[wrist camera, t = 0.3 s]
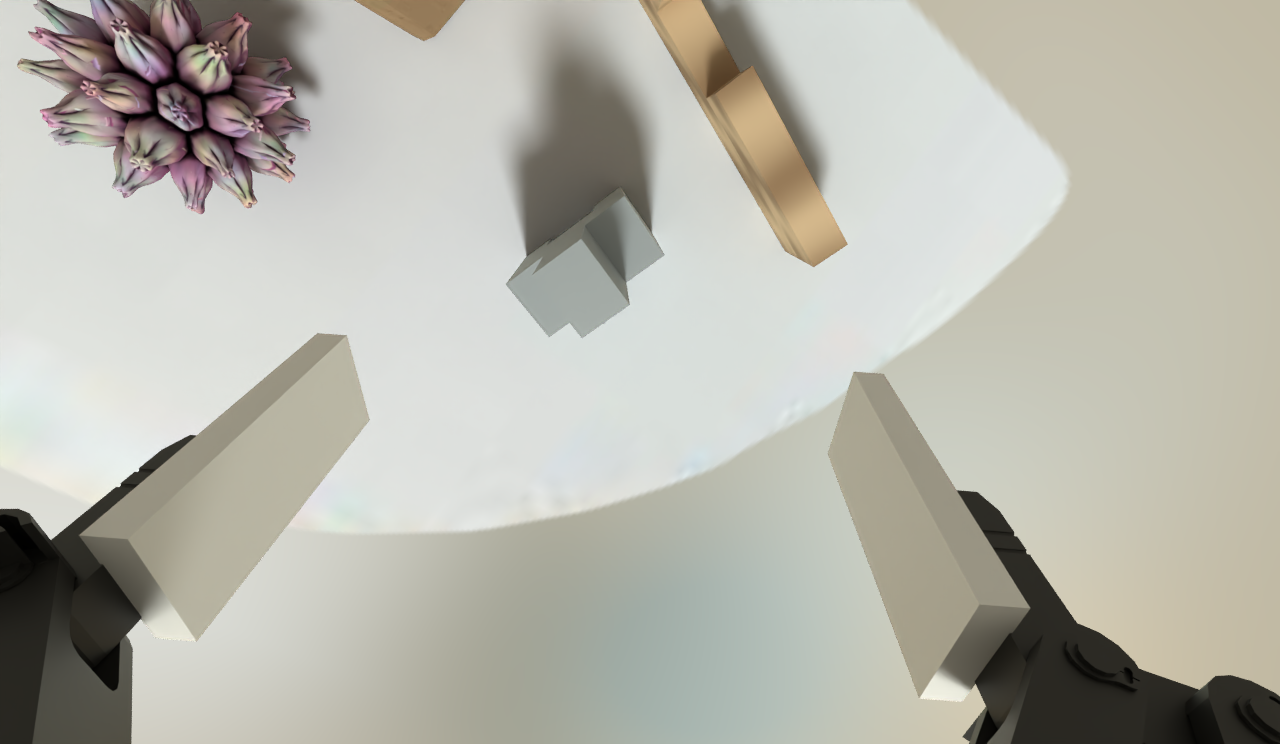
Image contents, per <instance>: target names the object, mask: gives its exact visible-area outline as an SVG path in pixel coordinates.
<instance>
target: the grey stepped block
mask: <svg viewBox="0 0 1280 744" xmlns="http://www.w3.org/2000/svg"><path fill="white" fill-rule="evenodd" d="M663 256H664V253H663V251H662V250H661V248H660V246H659V245H658V243H657V241H656V239H655V238H654V236H653V234H652V233H651V231H650V230H649V228H648V227H647V225H646V224H645V222H644V221H643V219H642V218H641V216H640V215H639V213H638V212H637V210H636V209H635V207H634V206H633V205H632V203H631V202H630V200H629V199H628V197H627V196H626V194H625V193H624V191H623V190H622V188H621V187H619V188H617V189H616V190H615V191H613V192H612V193H611V194H609V195H608V196H607V197H605V198H604V199H603V200H601V201H600V202H599V203H597V204H596V205H595V207H594V210H593V211H592V212H591V213H589V214H588V215H587V216H585V217H584V218H583V219H581V220H580V221H579V222H577V223H576V224H575V225H573V226H572V227H571V228H569V229H568V230H567V231H565V232H564V233H563V234H561V235H560V236H559V237H557V238H556V239H555V240H553V241H552V240H551V239H549V240H548V241H547V242H545V243H544V244H543V245H541V246H540V247H539V248H537V249H536V250H535V251H533V252H532V253H531V254H529V255H528V256H527V257H526V258H525V259H524V261H523V262H522V263H521V265H520V266H519V267H518V269H517V270H516V271H515V273H514V274H513V275H512V277H511V278H510V279H509V281H508V282H507V283H506V285H507V287H508V288H509V289H510V290H511V291H512V293H513V294H514V295H515V296H516V297H517V299H518V300H519V301H520V302H521V304H522V305H523V306H524V307H525V308H526V310H527V311H528V312H529V313H530V315H531V316H532V317H533V318H534V319H535V321H536V322H537V323H538V324H539V325H540V327H541V328H542V329H543V330H544V332H545V333H546V334H547V335H548V336H549V337H550V336H551V335H553V334H554V333H556V332H557V331H558V330H560V329H561V328H563V327H564V326H566V325H567V324H568V323H570V324H571V325H572V326H573V327H574V329H575V330H576V331H577V333H578V334H579V335H580V336H581V338H583V337H584V336H586V335H587V334H589V333H590V332H592V331H593V330H594V329H596V328H597V327H599V326H600V325H602V324H603V323H604V322H606V321H607V320H609V319H610V318H612V317H613V316H614V315H616V314H617V313H619V312H620V311H622V310H623V309H624V308H626V307H627V306H629V305H630V304H629V298H628V291H627V285H626V282H627V281H629V280H630V279H632V278H633V277H634V276H636V275H637V274H639V273H640V272H641V271H643V270H644V269H646V268H647V267H649V266H650V265H651V264H653V263H654V262H656V261H657V260H658V259H660V258H661V257H663Z"/></svg>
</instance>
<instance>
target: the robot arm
mask: <svg viewBox="0 0 1280 744" xmlns="http://www.w3.org/2000/svg"><path fill="white" fill-rule="evenodd" d="M369 420H370V419H369V416H368V412H367V408H366V405H365V401H364V397H363V394H362V390H361V386H360V383H359V379H358V375H357V371H356V368H355V364H354V360H353V357H352V353H351V349H350V346H349V342H348V338H347V335H333V334H319V333H317V334H316V335H315V336H314V337H313V338H312V339H310V340H309V341H308V342H307V343H306V344H304V345H303V346H302V347H301V348H300V349H299V350H297V351H296V352H295V353H294V354H293V355H291V356H290V357H289V358H288V359H287V360H286V361H284V362H283V363H282V364H281V365H280V366H278V367H277V368H276V369H275V370H274V371H273V372H271V373H270V374H269V375H268V376H267V377H265V378H264V379H263V380H262V381H261V382H260V383H258V384H257V385H256V386H255V387H254V388H252V389H251V390H250V391H249V392H248V393H247V394H245V395H244V396H243V397H242V398H241V399H239V400H238V401H237V402H236V403H235V404H234V405H232V406H231V407H230V408H229V409H228V410H226V411H225V412H224V413H223V414H222V415H221V416H219V417H218V418H217V419H216V420H215V421H213V422H212V423H211V424H210V425H209V426H208V427H206V428H205V429H204V430H203V431H202V432H200V433H199V434H198V435H197V436H196V435H189V436H187V437H186V438H184V439H182V440H180V441H178V442H176V443H174V444H172V445H170V446H168V447H166V448H164V449H163V450H161V451H160V452H158V453H157V454H156V455H155V456H154V457H152V458H151V459H150V460H149V461H147V462H146V463H145V464H144V465H143V466H141V467H140V468H139V472H134V473H133V474H132V475H130V476H129V477H128V478H127V479H125V480H124V481H123V482H122V483H121V486H120V487H116V488H114V489H113V490H112V491H111V492H109V493H108V494H107V495H106V496H105V497H103V498H102V499H101V500H100V501H98V502H97V503H96V504H95V505H94V506H92V507H91V508H90V509H89V510H88V511H86V512H85V513H84V514H83V515H81V516H80V517H79V518H78V519H76V520H75V521H74V522H73V523H72V524H70V525H69V526H68V527H67V528H65V529H64V530H63V531H62V532H60V533H59V534H58V535H57V536H56V537H54V538H53V539H52V540H50V539H49V538H48V536H47V535H46V534H45V532H44V531H43V530H42V529H41V527H40V526H39V525H38V524H37V523H36V521H35V520H34V519H33V517H32V516H31V515H30V514H29V513H27V512H25V511H22V510H20V509H0V744H131V726H132V725H131V723H132V652H133V651H132V650H133V649H132V646H131V643H130V640H129V639H128V638H127V636H126V634H127V633H128V632H129V631H130V630H131V629H132V628H133V627H134V625H135V624H136V623H137V622H138V621H139V620H140V619H141V620H142V621H143V622H144V624H145V625H146V626H147V628H148V629H149V630H150V632H151V633H152V634H153V636H154V637H155V638H160V639H172V640H185V641H197V640H198V639H199V638H200V637H201V635H202V634H203V633H204V631H205V630H206V629H207V628H208V626H209V625H210V624H211V622H212V621H213V620H214V619H215V617H216V616H217V615H218V614H219V612H220V611H221V610H222V608H223V607H224V606H225V604H226V603H227V602H228V601H229V599H230V598H231V597H232V596H233V594H234V593H235V592H236V590H237V589H238V588H239V587H240V585H241V584H242V583H243V582H244V580H245V579H246V578H247V576H248V575H249V574H250V572H251V571H252V570H253V569H254V567H255V566H256V565H257V564H258V562H259V561H260V560H261V558H262V557H263V556H264V555H265V553H266V552H267V551H268V550H269V548H270V547H271V546H272V544H273V543H274V542H275V541H276V539H277V538H278V537H279V535H280V534H281V533H282V532H283V530H284V529H285V528H286V526H287V525H288V524H289V523H290V521H291V520H292V519H293V518H294V516H295V515H296V514H297V512H298V511H299V510H300V509H301V507H302V506H303V505H304V503H305V502H306V501H307V500H308V498H309V497H310V496H311V494H312V493H313V492H314V491H315V489H316V488H317V487H318V486H319V484H320V483H321V482H322V480H323V479H324V478H325V477H326V475H327V474H328V473H329V471H330V470H331V469H332V468H333V466H334V465H335V464H336V462H337V461H338V460H339V459H340V457H341V456H342V455H343V454H344V452H345V451H346V450H347V448H348V447H349V446H350V445H351V443H352V442H353V441H354V439H355V438H356V437H357V436H358V434H359V433H360V432H361V430H362V429H363V428H364V427H365V425H366V424H367V423H368V421H369ZM828 456H829V458H830V461H831V464H832V466H833V469H834V472H835V474H836V477H837V480H838V482H839V485H840V488H841V490H842V493H843V496H844V499H845V501H846V504H847V506H848V509H849V512H850V514H851V517H852V520H853V522H854V525H855V528H856V531H857V533H858V536H859V539H860V541H861V544H862V547H863V549H864V552H865V555H866V557H867V560H868V563H869V565H870V568H871V571H872V573H873V576H874V579H875V581H876V584H877V587H878V589H879V592H880V595H881V597H882V600H883V603H884V606H885V608H886V611H887V613H888V616H889V619H890V622H891V624H892V627H893V629H894V632H895V635H896V638H897V640H898V643H899V646H900V648H901V651H902V654H903V656H904V659H905V662H906V664H907V667H908V670H909V672H910V675H911V677H912V680H913V683H914V686H915V688H916V691H917V694H918V696H919V698H920V699H933V700H945V701H957V702H962V701H963V700H964V699H965V697H966V696H967V694H968V693H969V692H970V690H971V689H972V688H973V686H974V685H975V684H976V685H977V688H978V690H979V691H980V694H981V696H982V698H983V700H984V703H985V704H986V707H985V709H984V710H983V711H982V713H981V714H980V716H978V718H977V719H976V720H975V722H974V723H973V724H972V725H971V727H970V728H969V729H968V730H967V732H966V733H965V734H964V736H963V737H964V738H965V739H966V740H968V741H970V742H969V744H1280V696H1278V695H1277V694H1276V693H1274V692H1272V691H1270V690H1268V689H1266V688H1264V687H1262V686H1260V685H1258V684H1256V683H1254V682H1252V681H1249V680H1245V679H1242V678H1239V677H1235V676H1231V675H1228V676H1215V677H1214V678H1213V679H1212V680H1211V681H1209V682H1208V683H1207V684H1206V685H1205V686H1204V687H1202V688H1201V689H1200V690H1198V689H1195V688H1192V687H1190V686H1187V685H1184V684H1181V683H1178V682H1175V681H1172V680H1169V679H1166V678H1164V677H1161V676H1158V675H1155V674H1152V673H1149V672H1146V671H1143V670H1141V669H1139V668H1138V667H1137V665H1136V664H1135V662H1134V661H1133V660H1132V659H1131V658H1130V657H1129V656H1128V655H1127V654H1126V653H1125V652H1124V651H1123V650H1122V649H1121V648H1120V647H1119V646H1118V645H1117V644H1115V643H1114V642H1112V641H1111V640H1109V639H1108V638H1106V637H1105V636H1103V635H1102V634H1101V633H1099V632H1097V631H1094V630H1092V629H1090V628H1087V627H1085V626H1083V625H1080V624H1077V622H1076V621H1075V620H1074V618H1073V617H1072V615H1071V614H1070V613H1069V611H1068V610H1067V609H1066V607H1065V605H1064V604H1063V602H1062V601H1061V599H1060V598H1059V597H1058V595H1057V594H1056V592H1055V591H1054V589H1053V588H1052V586H1051V585H1050V583H1049V582H1048V581H1047V579H1046V578H1045V576H1044V575H1043V573H1042V572H1041V570H1040V569H1039V568H1038V566H1037V565H1036V563H1035V562H1034V560H1033V559H1032V557H1031V556H1030V555H1028V554H1027V553H1026V549H1025V547H1024V546H1023V545H1022V543H1021V541H1020V540H1019V539H1018V537H1015V536H1014V531H1013V530H1012V529H1011V527H1010V525H1009V524H1008V523H1007V521H1006V520H1005V518H1004V517H1003V515H1002V514H1001V512H1000V511H999V510H998V509H997V508H995V507H994V506H993V505H992V504H991V503H989V502H988V501H987V500H986V499H985V498H984V497H982V496H981V495H980V494H979V493H978V492H970V491H957V490H956V489H955V487H954V486H953V484H952V482H951V481H950V479H949V478H948V476H947V474H946V473H945V471H944V470H943V468H942V466H941V465H940V463H939V462H938V460H937V458H936V457H935V455H934V454H933V452H932V450H931V449H930V447H929V446H928V444H927V442H926V441H925V439H924V438H923V436H922V434H921V433H920V431H919V430H918V428H917V427H916V425H915V423H914V422H913V420H912V418H911V417H910V415H909V414H908V412H907V411H906V409H905V407H904V406H903V404H902V402H901V401H900V399H899V398H898V396H897V394H896V393H895V391H894V390H893V388H892V387H891V385H890V383H889V382H888V380H887V379H886V377H885V376H884V374H877V373H863V372H853V376H852V379H851V382H850V385H849V388H848V391H847V394H846V398H845V401H844V404H843V407H842V410H841V414H840V417H839V420H838V423H837V426H836V429H835V432H834V435H833V439H832V442H831V445H830V448H829V451H828Z"/></svg>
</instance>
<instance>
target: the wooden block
mask: <svg viewBox="0 0 1280 744" xmlns="http://www.w3.org/2000/svg"><path fill="white" fill-rule="evenodd" d="M355 1H356V2H358V3H360V4H361V5H363V6H365V7H366V8H368V9H370V10H371V11H373V12H375V13H376V14H378V15H380V16H381V17H383V18H385V19H386V20H388V21H390V22H391V23H393V24H394V25H396V26H398V27H399V28H401V29H403V30H404V31H406V32H408V33H409V34H411V35H413V36H415V37H417V38H419V39H421V40H423V41H425V40H427V39H430V38H432V37H434V36H436V34H437V33H438V32H439V31H440V30H441V28H442V27H443V26H444V25H445V24H446V22H447V21H448V20H449V19H450V18H451V16H452V15H453V14H454V13H455V12H456V10H457V9H458V8H459V7H460V6H461V4H462V3H463V2H464V1H465V0H355Z"/></svg>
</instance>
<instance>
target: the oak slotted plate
mask: <svg viewBox="0 0 1280 744" xmlns="http://www.w3.org/2000/svg"><path fill="white" fill-rule="evenodd" d="M639 1H640V3H641V5H642V6H643V8H644V10H645V12H646V13H647V15H648V17H649V18H650V20H651V22H652V24H653V25H654V27H655V29H656V30H657V32H658V34H659V36H660V37H661V39H662V41H663V42H664V44H665V46H666V48H667V49H668V51H669V53H670V54H671V56H672V58H673V60H674V61H675V63H676V65H677V66H678V68H679V70H680V72H681V73H682V75H683V77H684V78H685V80H686V82H687V84H688V85H689V87H690V89H691V90H692V92H693V94H694V96H695V97H696V99H697V101H698V102H699V104H700V106H701V108H702V109H703V111H704V113H705V114H706V116H707V118H708V120H709V121H710V123H711V125H712V126H713V128H714V130H715V132H716V133H717V135H718V137H719V138H720V140H721V142H722V144H723V145H724V147H725V149H726V150H727V152H728V154H729V156H730V157H731V159H732V161H733V162H734V164H735V166H736V168H737V169H738V171H739V173H740V174H741V176H742V178H743V180H744V181H745V183H746V185H747V186H748V188H749V190H750V192H751V193H752V195H753V197H754V198H755V200H756V202H757V204H758V205H759V207H760V209H761V210H762V212H763V214H764V216H765V217H766V219H767V221H768V222H769V224H770V226H771V228H772V229H773V231H774V233H775V234H776V236H777V238H778V240H779V241H780V243H781V245H782V246H783V248H784V250H785V251H786V252H787V253H789V254H791V255H793V256H795V257H797V258H798V259H800V260H802V261H804V262H806V263H807V264H809V265H811V266H813V267H815V266H816V265H818V264H819V263H821V262H822V261H824V260H825V259H827V258H828V257H830V256H831V255H833V254H834V253H836V252H837V251H839V250H840V249H842V248H843V247H845V246H846V245H848V244H847V242H846V240H845V238H844V236H843V234H842V233H841V231H840V229H839V227H838V225H837V223H836V221H835V219H834V218H833V216H832V214H831V212H830V210H829V208H828V206H827V204H826V202H825V201H824V199H823V197H822V195H821V193H820V191H819V189H818V187H817V186H816V184H815V182H814V180H813V178H812V176H811V174H810V172H809V171H808V169H807V167H806V165H805V163H804V161H803V159H802V157H801V155H800V154H799V152H798V150H797V148H796V146H795V144H794V142H793V140H792V139H791V137H790V135H789V133H788V131H787V129H786V127H785V125H784V124H783V122H782V120H781V118H780V116H779V114H778V112H777V110H776V108H775V107H774V105H773V103H772V101H771V99H770V97H769V95H768V93H767V92H766V90H765V88H764V86H763V84H762V82H761V80H760V78H759V76H758V75H757V73H756V71H755V69H754V67H753V66H751V67H749V68H748V69H746V70H744V71H743V72H741V73H740V71H739V69H738V68H737V66H736V64H735V62H734V60H733V58H732V57H731V55H730V53H729V51H728V49H727V47H726V46H725V44H724V42H723V40H722V38H721V36H720V34H719V33H718V31H717V29H716V27H715V25H714V23H713V22H712V20H711V18H710V16H709V14H708V12H707V11H706V9H705V7H704V5H703V3H702V1H701V0H639Z"/></svg>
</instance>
